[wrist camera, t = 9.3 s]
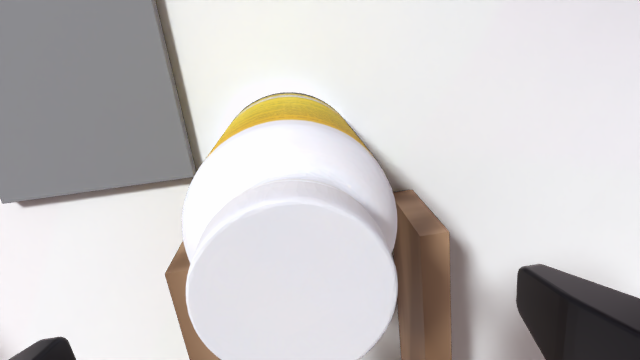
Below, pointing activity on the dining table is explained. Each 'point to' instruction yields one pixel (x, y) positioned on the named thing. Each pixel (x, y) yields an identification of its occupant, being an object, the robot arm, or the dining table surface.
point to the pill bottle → (290, 237)
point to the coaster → (86, 99)
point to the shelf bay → (413, 285)
